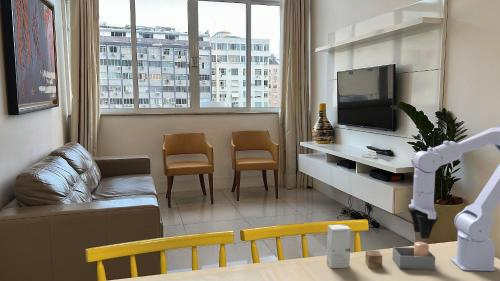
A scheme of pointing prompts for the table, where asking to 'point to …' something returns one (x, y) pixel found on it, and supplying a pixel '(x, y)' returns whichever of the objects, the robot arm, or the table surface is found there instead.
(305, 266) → the table surface
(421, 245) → the cylinder
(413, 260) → the tote
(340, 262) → the skincare box
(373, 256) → the cube
